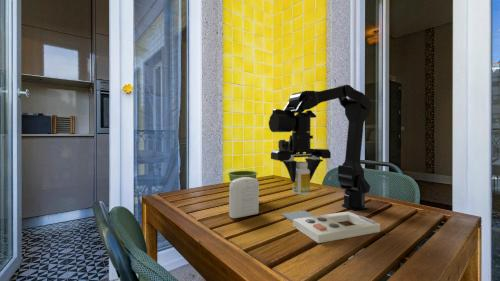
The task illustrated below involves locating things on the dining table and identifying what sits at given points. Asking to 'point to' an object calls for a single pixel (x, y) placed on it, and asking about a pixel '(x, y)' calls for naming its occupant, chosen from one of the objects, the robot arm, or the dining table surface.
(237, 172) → the plant pot
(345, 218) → the socket board
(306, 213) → the slate mat
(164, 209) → the dining table surface
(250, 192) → the white rounded slab
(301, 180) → the supplement bottle
